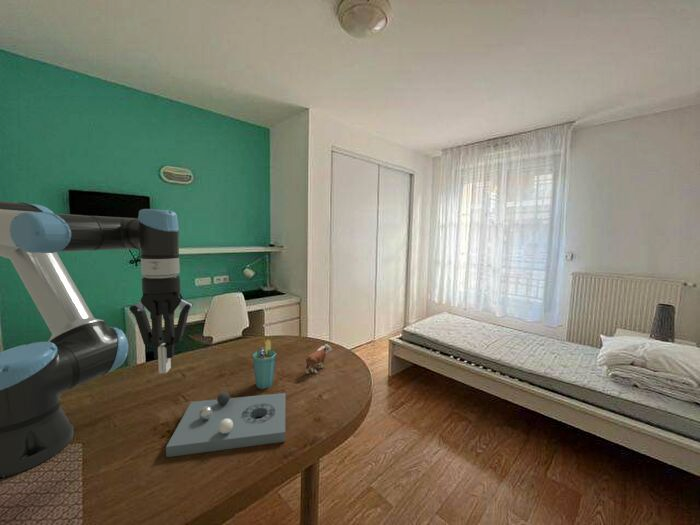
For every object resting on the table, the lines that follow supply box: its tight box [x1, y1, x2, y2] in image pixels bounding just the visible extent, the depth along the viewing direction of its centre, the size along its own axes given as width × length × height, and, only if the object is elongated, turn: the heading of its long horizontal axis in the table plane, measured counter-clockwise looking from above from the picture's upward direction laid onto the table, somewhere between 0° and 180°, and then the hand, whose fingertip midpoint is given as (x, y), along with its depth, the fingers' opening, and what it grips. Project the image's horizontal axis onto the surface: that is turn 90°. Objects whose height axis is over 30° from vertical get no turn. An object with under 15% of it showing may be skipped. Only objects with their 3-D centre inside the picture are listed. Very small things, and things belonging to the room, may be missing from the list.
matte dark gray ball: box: [216, 391, 231, 405], centre depth 78 cm, size 3×3×3 cm
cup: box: [251, 339, 277, 390], centre depth 91 cm, size 14×8×15 cm, turn 11°
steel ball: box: [199, 406, 213, 420], centre depth 71 cm, size 3×3×3 cm
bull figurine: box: [305, 343, 333, 375], centre depth 105 cm, size 4×13×8 cm, turn 148°
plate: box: [165, 392, 286, 458], centre depth 73 cm, size 26×17×2 cm, turn 103°
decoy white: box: [219, 418, 233, 434], centre depth 67 cm, size 3×3×3 cm
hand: (164, 370), depth 68 cm, fingers closed
